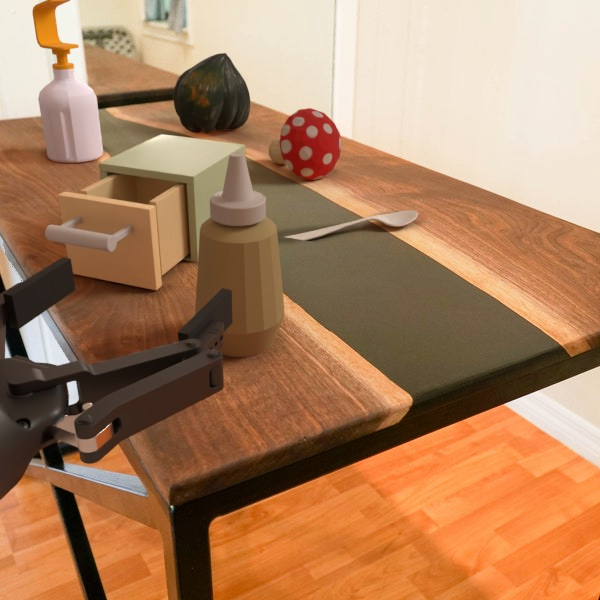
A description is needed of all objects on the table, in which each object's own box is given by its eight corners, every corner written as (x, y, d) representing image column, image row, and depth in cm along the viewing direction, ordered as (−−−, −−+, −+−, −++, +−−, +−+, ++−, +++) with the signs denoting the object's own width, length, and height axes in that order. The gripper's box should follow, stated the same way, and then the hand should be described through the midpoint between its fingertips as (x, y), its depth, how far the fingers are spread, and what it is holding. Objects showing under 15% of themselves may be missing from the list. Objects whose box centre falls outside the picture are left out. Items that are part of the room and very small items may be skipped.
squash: (146, 102, 124) (190, 43, 116) (187, 92, 136) (230, 38, 128) (196, 160, 125) (244, 105, 117) (233, 144, 137) (278, 93, 129)
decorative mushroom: (258, 107, 109) (309, 89, 97) (309, 137, 115) (363, 124, 103) (237, 168, 108) (287, 158, 95) (289, 196, 114) (343, 189, 102)
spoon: (424, 227, 88) (425, 215, 87) (281, 250, 80) (282, 237, 79) (407, 216, 91) (408, 205, 90) (269, 237, 83) (269, 225, 82)
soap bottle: (75, 167, 106) (51, 0, 94) (36, 158, 110) (8, -3, 98) (114, 154, 113) (97, -3, 101) (76, 146, 117) (55, -6, 105)
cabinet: (198, 268, 75) (193, 176, 70) (109, 251, 78) (98, 163, 73) (246, 225, 86) (245, 144, 81) (167, 212, 90) (161, 133, 85)
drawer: (131, 312, 64) (121, 227, 60) (40, 292, 67) (25, 210, 63) (210, 245, 78) (207, 172, 74) (133, 231, 81) (125, 161, 77)
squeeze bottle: (276, 319, 65) (277, 139, 57) (292, 364, 58) (297, 167, 50) (193, 326, 64) (182, 142, 55) (200, 374, 57) (189, 172, 48)
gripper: (-242, 470, 37) (18, 302, 55) (144, 608, 30) (299, 365, 48) (-296, 359, 34) (1, 218, 51) (128, 487, 26) (302, 272, 44)
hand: (145, 288), depth 49 cm, fingers open, 13 cm apart
